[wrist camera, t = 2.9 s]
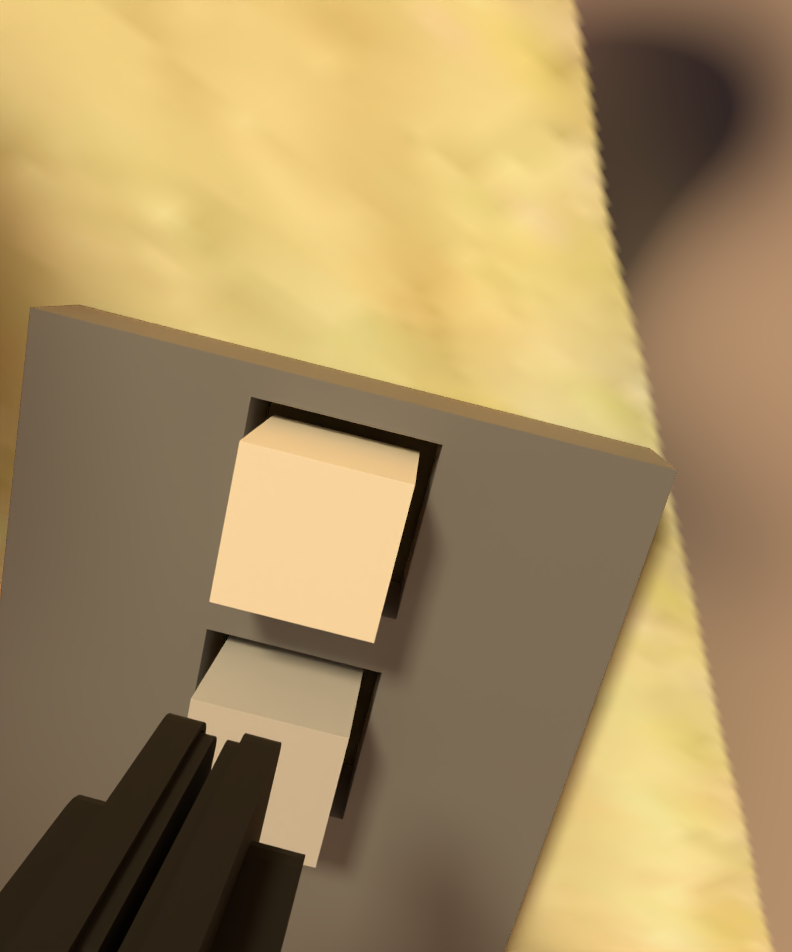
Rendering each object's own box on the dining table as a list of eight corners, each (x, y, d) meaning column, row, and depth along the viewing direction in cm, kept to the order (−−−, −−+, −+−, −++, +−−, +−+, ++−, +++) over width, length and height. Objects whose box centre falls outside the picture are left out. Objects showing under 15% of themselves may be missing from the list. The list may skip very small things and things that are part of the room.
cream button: (273, 414, 23) (239, 440, 19) (419, 451, 23) (414, 485, 19) (246, 551, 24) (209, 601, 20) (384, 586, 24) (373, 643, 20)
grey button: (229, 634, 25) (190, 698, 21) (363, 668, 25) (349, 738, 21) (206, 750, 26) (165, 830, 22) (334, 782, 26) (315, 868, 22)
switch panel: (79, 304, 24) (29, 307, 22) (650, 448, 25) (678, 470, 22) (6, 902, 31) (-39, 966, 28) (453, 1015, 31) (454, 1090, 28)
